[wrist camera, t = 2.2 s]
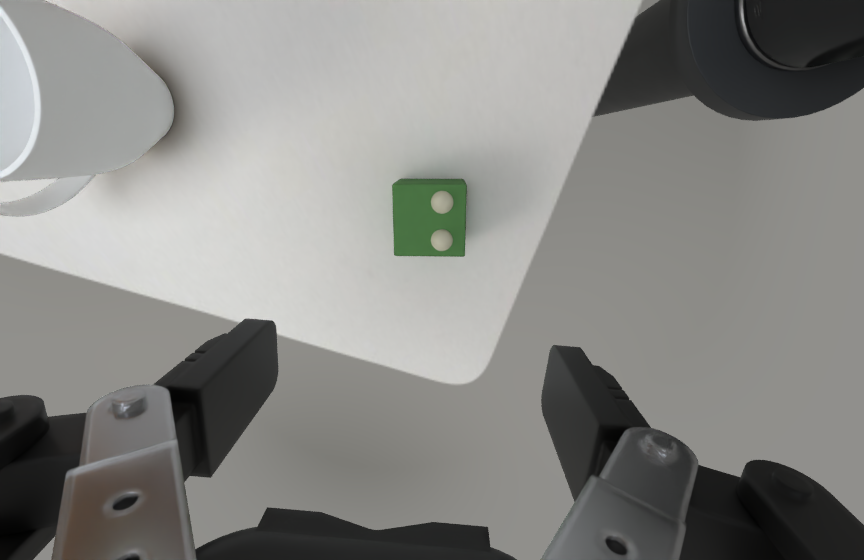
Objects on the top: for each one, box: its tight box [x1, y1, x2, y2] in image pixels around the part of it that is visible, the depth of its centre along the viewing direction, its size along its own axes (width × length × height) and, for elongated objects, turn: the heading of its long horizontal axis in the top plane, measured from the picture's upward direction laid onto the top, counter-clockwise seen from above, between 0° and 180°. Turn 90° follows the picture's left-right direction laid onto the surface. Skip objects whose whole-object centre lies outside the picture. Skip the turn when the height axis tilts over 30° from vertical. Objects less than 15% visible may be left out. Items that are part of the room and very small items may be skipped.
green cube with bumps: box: [392, 179, 467, 257], centre depth 27 cm, size 5×5×5 cm
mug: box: [0, 0, 174, 216], centre depth 23 cm, size 12×9×12 cm
